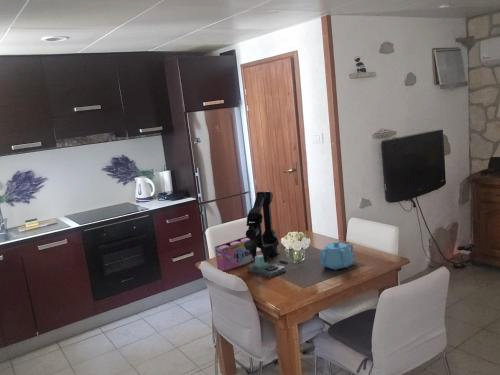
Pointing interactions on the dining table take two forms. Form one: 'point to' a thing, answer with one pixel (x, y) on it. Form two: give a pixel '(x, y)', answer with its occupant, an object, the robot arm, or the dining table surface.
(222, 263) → the gum box
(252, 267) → the panel
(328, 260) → the decorative pot
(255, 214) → the robot arm
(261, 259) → the plug
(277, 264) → the pair of grey bars
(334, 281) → the dining table surface
